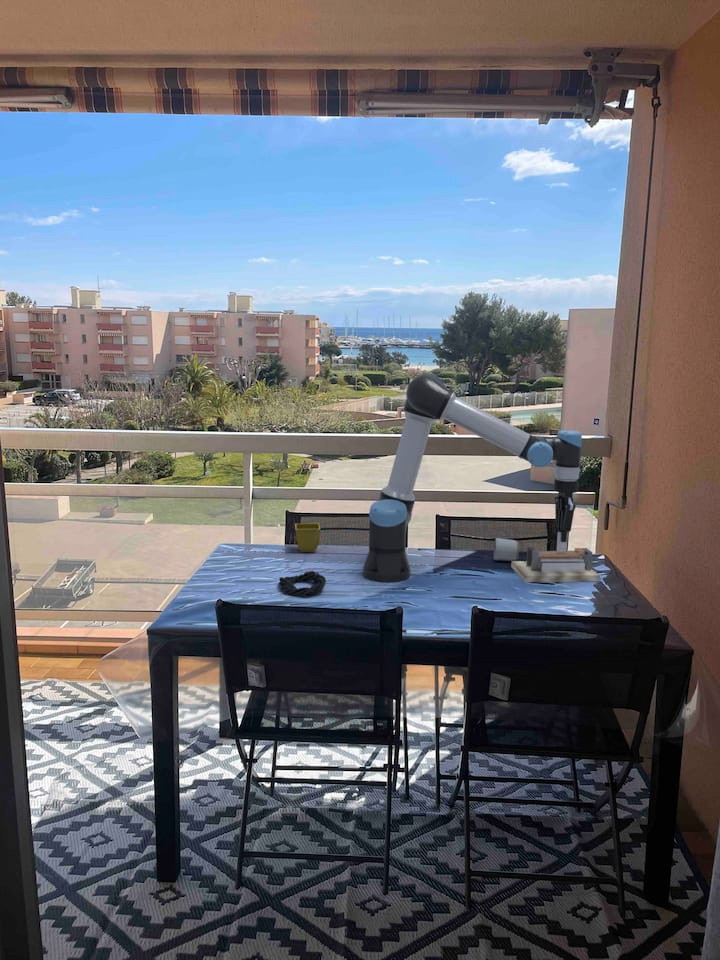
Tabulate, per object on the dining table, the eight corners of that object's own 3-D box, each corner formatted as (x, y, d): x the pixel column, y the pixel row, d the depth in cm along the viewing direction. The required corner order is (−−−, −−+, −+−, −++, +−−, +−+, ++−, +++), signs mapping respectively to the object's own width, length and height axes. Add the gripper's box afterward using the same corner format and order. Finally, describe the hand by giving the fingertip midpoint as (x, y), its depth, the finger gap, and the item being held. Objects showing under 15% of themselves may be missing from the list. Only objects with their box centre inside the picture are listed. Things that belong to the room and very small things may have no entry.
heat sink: (533, 573, 238) (535, 553, 237) (524, 563, 249) (525, 544, 248) (594, 572, 240) (595, 553, 239) (582, 563, 250) (583, 544, 249)
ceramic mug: (518, 563, 255) (520, 542, 254) (494, 562, 256) (495, 540, 255) (515, 555, 266) (517, 534, 265) (492, 554, 267) (493, 533, 265)
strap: (533, 558, 241) (533, 552, 241) (530, 555, 245) (530, 549, 244) (584, 557, 243) (584, 550, 242) (580, 554, 246) (580, 547, 246)
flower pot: (294, 547, 271) (294, 523, 269) (318, 547, 272) (319, 522, 270) (295, 554, 262) (295, 529, 260) (320, 553, 263) (320, 528, 261)
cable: (326, 599, 218) (326, 584, 217) (278, 599, 216) (278, 585, 216) (324, 580, 234) (324, 567, 234) (278, 581, 233) (278, 567, 232)
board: (525, 581, 236) (525, 575, 236) (511, 566, 252) (511, 561, 251) (599, 581, 238) (599, 575, 237) (580, 566, 254) (581, 560, 253)
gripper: (585, 483, 233) (579, 556, 237) (570, 475, 246) (565, 545, 250) (562, 482, 233) (556, 556, 237) (548, 475, 245) (543, 545, 250)
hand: (561, 550), depth 243 cm, fingers closed
